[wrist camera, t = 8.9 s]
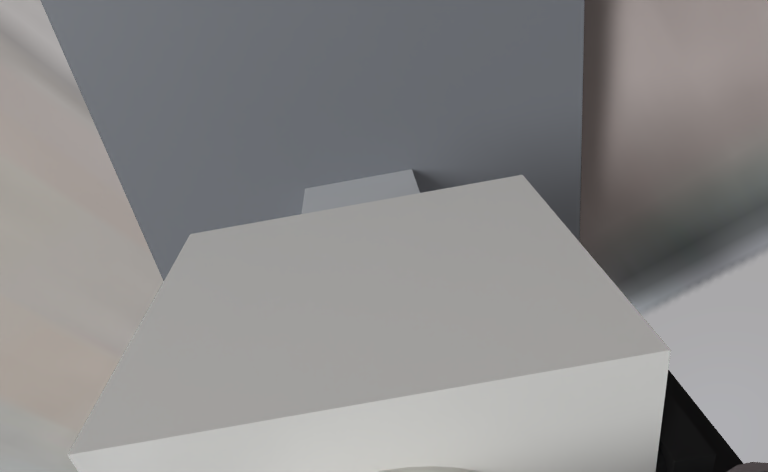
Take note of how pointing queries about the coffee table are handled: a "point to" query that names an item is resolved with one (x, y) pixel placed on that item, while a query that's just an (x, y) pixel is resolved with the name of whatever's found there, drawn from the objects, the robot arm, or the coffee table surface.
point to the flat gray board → (324, 103)
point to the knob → (387, 348)
